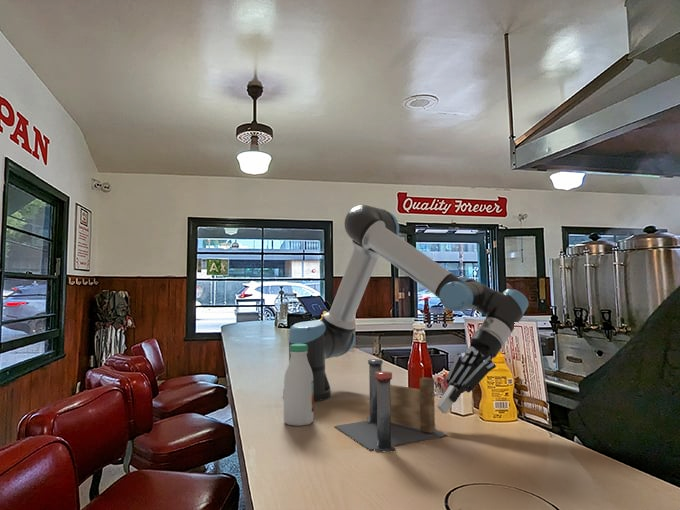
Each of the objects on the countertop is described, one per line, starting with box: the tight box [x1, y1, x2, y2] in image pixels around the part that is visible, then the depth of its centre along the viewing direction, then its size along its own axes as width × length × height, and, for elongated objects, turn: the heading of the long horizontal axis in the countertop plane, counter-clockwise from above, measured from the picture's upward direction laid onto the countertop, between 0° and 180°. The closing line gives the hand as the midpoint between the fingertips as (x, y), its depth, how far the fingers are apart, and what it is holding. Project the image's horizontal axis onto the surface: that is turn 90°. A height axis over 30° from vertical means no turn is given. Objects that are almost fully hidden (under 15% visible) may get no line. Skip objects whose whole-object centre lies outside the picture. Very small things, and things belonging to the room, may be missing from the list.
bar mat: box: [334, 420, 448, 451], centre depth 110 cm, size 18×21×1 cm
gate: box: [390, 376, 436, 433], centre depth 112 cm, size 14×2×12 cm, turn 51°
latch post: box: [373, 370, 397, 453], centre depth 99 cm, size 4×4×16 cm
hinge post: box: [366, 358, 384, 423], centre depth 118 cm, size 4×4×16 cm
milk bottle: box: [283, 344, 315, 427], centre depth 118 cm, size 8×8×20 cm
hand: (441, 409), depth 112 cm, fingers closed
